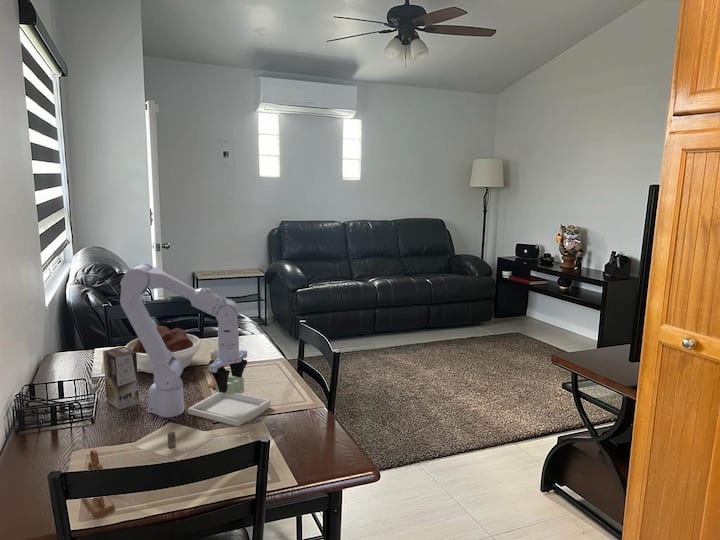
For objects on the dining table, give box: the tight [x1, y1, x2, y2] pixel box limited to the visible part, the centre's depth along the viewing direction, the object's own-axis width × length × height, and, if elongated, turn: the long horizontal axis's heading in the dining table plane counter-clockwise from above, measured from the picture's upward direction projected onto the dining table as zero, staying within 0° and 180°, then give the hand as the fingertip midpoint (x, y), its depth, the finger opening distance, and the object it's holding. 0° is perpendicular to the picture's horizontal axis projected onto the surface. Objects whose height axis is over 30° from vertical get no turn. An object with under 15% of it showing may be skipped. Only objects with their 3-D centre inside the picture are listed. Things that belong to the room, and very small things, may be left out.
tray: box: [187, 392, 272, 427], centre depth 152 cm, size 18×16×2 cm
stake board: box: [129, 421, 218, 461], centre depth 133 cm, size 16×14×5 cm
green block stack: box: [215, 374, 245, 395], centre depth 150 cm, size 7×6×3 cm
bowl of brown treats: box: [125, 325, 202, 375], centre depth 185 cm, size 25×25×15 cm
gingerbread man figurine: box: [82, 448, 116, 518], centre depth 108 cm, size 9×4×12 cm, turn 43°
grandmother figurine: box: [207, 349, 219, 389], centre depth 169 cm, size 8×4×13 cm, turn 68°
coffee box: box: [102, 345, 140, 410], centre depth 156 cm, size 9×6×16 cm
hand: (229, 388), depth 151 cm, fingers closed on green block stack, 6 cm apart
